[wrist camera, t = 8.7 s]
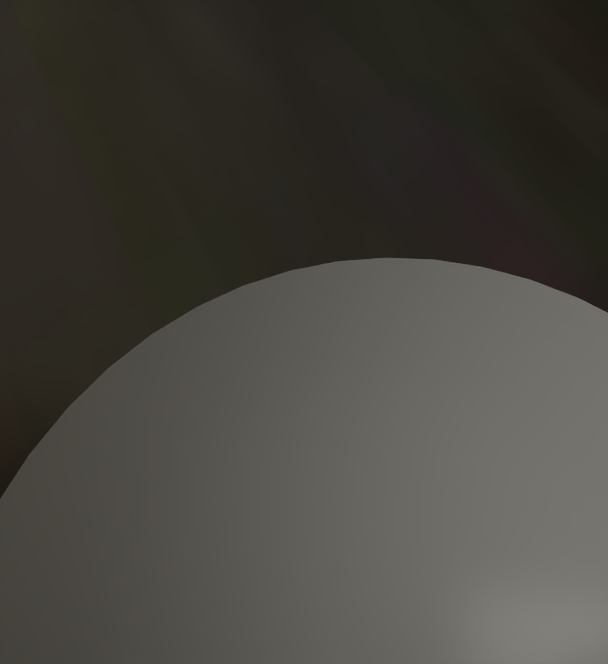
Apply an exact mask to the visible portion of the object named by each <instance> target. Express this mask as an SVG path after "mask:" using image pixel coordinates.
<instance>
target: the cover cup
mask: <svg viewBox="0 0 608 664" xmlns="http://www.w3.org/2000/svg"><path fill="white" fill-rule="evenodd" d="M0 664H608V313H607V312H605V311H603V310H601V309H599V308H597V307H595V306H593V305H591V304H589V303H587V302H585V301H583V300H581V299H579V298H577V297H574V296H571V295H569V294H566V293H563V292H561V291H558V290H556V289H553V288H550V287H548V286H545V285H543V284H540V283H537V282H535V281H532V280H529V279H525V278H522V277H518V276H514V275H510V274H507V273H503V272H499V271H495V270H492V269H488V268H484V267H479V266H472V265H465V264H459V263H452V262H446V261H439V260H428V259H403V258H377V259H364V260H351V261H338V262H333V263H328V264H322V265H317V266H312V267H307V268H302V269H297V270H292V271H288V272H285V273H282V274H279V275H276V276H272V277H269V278H266V279H263V280H260V281H257V282H254V283H250V284H247V285H244V286H242V287H240V288H238V289H235V290H233V291H231V292H229V293H226V294H224V295H222V296H220V297H218V298H215V299H213V300H211V301H209V302H207V303H204V304H202V305H200V306H198V307H196V308H195V309H193V310H191V311H190V312H188V313H186V314H185V315H183V316H181V317H180V318H178V319H176V320H175V321H173V322H171V323H170V324H168V325H166V326H165V327H163V328H161V329H160V330H158V331H156V332H155V333H153V334H152V335H151V336H149V337H148V338H147V339H145V340H144V341H143V342H141V343H140V344H139V345H138V346H136V347H135V348H134V349H132V350H131V351H130V352H128V353H127V354H126V355H125V356H123V357H122V358H121V359H119V360H118V361H117V362H116V363H114V364H113V365H112V366H110V367H109V368H108V369H107V370H106V371H105V372H104V373H103V374H102V375H101V376H100V377H99V378H98V379H97V380H96V381H95V382H94V383H93V384H92V385H91V386H90V387H89V388H88V389H87V390H86V391H85V392H83V393H82V394H81V395H80V396H79V397H78V398H77V399H76V400H75V401H74V402H73V403H72V404H71V405H70V406H69V407H68V408H67V409H66V411H65V412H64V413H63V414H62V416H61V417H60V418H59V419H58V420H57V422H56V423H55V424H54V425H53V426H52V428H51V429H50V430H49V431H48V432H47V434H46V435H45V436H44V437H43V439H42V440H41V441H40V442H39V443H38V445H37V446H36V447H35V448H34V449H33V451H32V452H31V453H30V454H29V456H28V457H27V459H26V460H25V462H24V463H23V465H22V466H21V468H20V470H19V471H18V473H17V474H16V476H15V477H14V479H13V480H12V482H11V483H10V485H9V486H8V488H7V489H6V491H5V492H4V494H3V495H2V497H1V498H0Z"/></svg>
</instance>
